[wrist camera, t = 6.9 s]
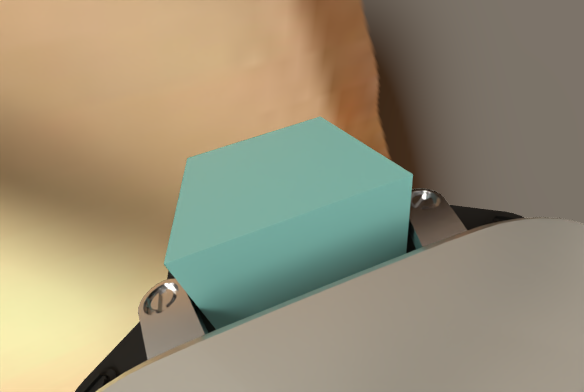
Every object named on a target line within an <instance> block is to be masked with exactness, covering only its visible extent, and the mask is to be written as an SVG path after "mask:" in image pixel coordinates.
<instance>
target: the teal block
mask: <svg viewBox="0 0 584 392" xmlns="http://www.w3.org/2000/svg"><path fill="white" fill-rule="evenodd" d="M412 179H413V174H411V173H410V172H408V171H406V170H405V169H403V168H402V167H400V166H399V165H397V164H395V163H394V162H392V161H391V160H389V159H387V158H386V157H384V156H383V155H381V154H379V153H378V152H376V151H375V150H373V149H371V148H370V147H368V146H367V145H365V144H363V143H362V142H360V141H359V140H357V139H355V138H354V137H352V136H351V135H349V134H347V133H346V132H344V131H343V130H341V129H339V128H338V127H336V126H335V125H333V124H331V123H330V122H328V121H327V120H325V119H323V118H322V117H317V118H314V119H311V120H308V121H305V122H301V123H298V124H295V125H292V126H289V127H285V128H282V129H279V130H276V131H273V132H269V133H266V134H263V135H260V136H257V137H253V138H250V139H247V140H244V141H241V142H237V143H234V144H231V145H228V146H225V147H222V148H218V149H215V150H212V151H209V152H206V153H202V154H199V155H196V156H193V157H190V158H187V162H186V167H185V171H184V175H183V180H182V184H181V189H180V193H179V198H178V202H177V207H176V211H175V216H174V220H173V225H172V229H171V234H170V238H169V243H168V247H167V252H166V256H165V261H164V265H165V266H166V268H167V269H168V270H169V271H170V273H171V274H172V275H173V276H174V278H175V279H176V280H177V281H178V283H179V284H180V285H181V286H182V288H183V289H184V290H185V291H186V293H187V294H188V295H189V296H190V298H191V299H192V300H193V301H194V303H195V304H196V305H197V306H198V308H199V309H200V310H201V311H202V313H203V314H204V315H205V316H206V318H207V319H208V320H209V321H210V322H211V324H212V325H213V326H214V327H215V329H216V330H217V329H220V328H222V327H224V326H227V325H229V324H232V323H234V322H237V321H239V320H242V319H244V318H247V317H249V316H251V315H254V314H256V313H259V312H261V311H264V310H266V309H269V308H271V307H274V306H276V305H278V304H281V303H283V302H286V301H288V300H291V299H293V298H296V297H298V296H301V295H303V294H306V293H308V292H311V291H313V290H316V289H318V288H321V287H323V286H326V285H328V284H331V283H333V282H336V281H338V280H341V279H343V278H346V277H348V276H351V275H353V274H356V273H358V272H361V271H363V270H366V269H368V268H371V267H373V266H376V265H378V264H381V263H383V262H386V261H388V260H391V259H393V258H396V257H399V256H401V255H404V254H406V249H407V237H408V226H409V214H410V203H411V191H412Z"/></svg>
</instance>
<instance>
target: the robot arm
mask: <svg viewBox="0 0 584 392" xmlns="http://www.w3.org/2000/svg"><path fill="white" fill-rule="evenodd" d="M138 314H139V319H140V322H139V323H138V324H137V325H136V326H135V327H134V328H133V329H132V330H131V331H130V332H129V333H128V335H127V336H126V337H125V338H124V339H123V340H122V341H121V342H120V343H119V344H118V345H117V346H116V347H115V348H114V349H113V350H112V351H111V352H110V353H109V355H108V356H107V357H106V358H105V359H104V360H103V361H102V362H101V363H100V364H99V365H98V366H97V367H96V368H95V369H94V370H93V371H92V372H91V373H90V374H89V376H88V377H87V378H86V379H85V380H84V381H83V382H82V383H81V385H80V386H79V387H78V388H77V389H76V391H75V392H584V224H582V223H579V222H576V221H572V220H567V219H561V218H549V217H533V218H524V217H522V216H519V215H516V214H514V213H509V212H502V211H493V210H486V209H478V208H470V207H462V206H453V205H449V204H448V202H447V201H446V200H445V198H444V197H443V196H442V195H441V194H440V193H438V192H436V191H433V190H430V189H423V188H421V189H412V191H411V203H410V214H409V226H408V237H407V249H406V254H404V255H401V256H399V257H396V258H393V259H391V260H388V261H386V262H383V263H381V264H378V265H376V266H373V267H371V268H368V269H366V270H363V271H361V272H358V273H356V274H353V275H351V276H348V277H346V278H343V279H341V280H338V281H336V282H333V283H331V284H328V285H326V286H323V287H321V288H318V289H316V290H313V291H311V292H308V293H306V294H303V295H301V296H298V297H296V298H293V299H291V300H288V301H286V302H283V303H281V304H278V305H276V306H274V307H271V308H269V309H266V310H264V311H261V312H259V313H256V314H254V315H251V316H249V317H247V318H244V319H242V320H239V321H237V322H234V323H232V324H229V325H227V326H224V327H222V328H220V329H217V330H216V329H215V327H214V326H213V325H212V324H211V322H210V321H209V320H208V319H207V318H206V316H205V315H204V314H203V313H202V311H201V310H200V309H199V308H198V306H197V305H196V304H195V303H194V301H193V300H192V299H191V298H190V296H189V295H188V294H187V293H186V291H185V290H184V289H183V288H182V286H181V285H180V284H179V283H178V281H177V280H176V279H175V278H174V276H173V275H172V274H171V273H170V271H169V272H168V277H167V280H164V281H162V282H160V283H158V284H157V285H155V286H154V287H153V288H151V289H150V290H149V291H148V292H147V293H146V294H145V296H144V297H143V299H142V300H141V302H140V305H139V307H138Z"/></svg>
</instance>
